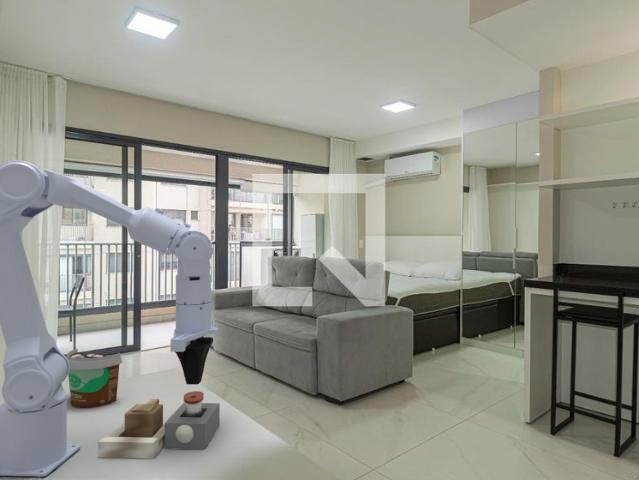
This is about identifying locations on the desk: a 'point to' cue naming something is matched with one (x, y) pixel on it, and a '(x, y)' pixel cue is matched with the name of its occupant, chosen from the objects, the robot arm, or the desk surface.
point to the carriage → (143, 420)
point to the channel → (131, 443)
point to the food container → (92, 378)
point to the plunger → (194, 403)
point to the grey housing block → (192, 427)
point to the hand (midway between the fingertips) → (193, 383)
